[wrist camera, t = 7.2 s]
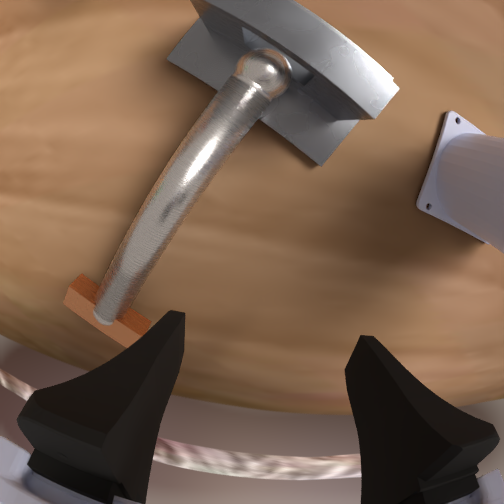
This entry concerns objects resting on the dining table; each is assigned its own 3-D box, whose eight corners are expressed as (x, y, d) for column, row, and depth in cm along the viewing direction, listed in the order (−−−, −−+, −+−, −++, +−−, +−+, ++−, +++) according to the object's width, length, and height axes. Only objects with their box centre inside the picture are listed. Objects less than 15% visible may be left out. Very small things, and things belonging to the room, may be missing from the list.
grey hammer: (388, 79, 16) (444, 64, 10) (174, 343, 25) (153, 404, 18) (244, -23, 13) (237, -78, 7) (61, 266, 22) (14, 309, 16)
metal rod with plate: (323, 92, 14) (335, 86, 12) (143, 332, 21) (131, 357, 18) (233, 31, 13) (228, 14, 10) (78, 287, 19) (59, 307, 17)
